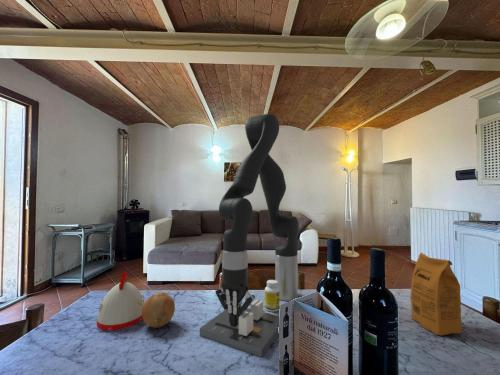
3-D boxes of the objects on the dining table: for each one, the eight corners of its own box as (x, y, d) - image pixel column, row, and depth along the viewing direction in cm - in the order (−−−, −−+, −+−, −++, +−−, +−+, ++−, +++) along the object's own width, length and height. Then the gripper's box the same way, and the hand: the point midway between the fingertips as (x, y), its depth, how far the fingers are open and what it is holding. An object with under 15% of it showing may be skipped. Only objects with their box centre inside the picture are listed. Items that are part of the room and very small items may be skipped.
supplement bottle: (278, 313, 82) (278, 284, 82) (263, 311, 83) (263, 283, 83) (280, 306, 87) (279, 279, 87) (265, 304, 88) (265, 278, 89)
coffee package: (433, 316, 80) (431, 251, 81) (469, 337, 67) (465, 260, 69) (405, 316, 80) (403, 251, 81) (435, 337, 67) (432, 260, 69)
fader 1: (245, 326, 68) (245, 311, 68) (253, 329, 67) (253, 313, 67) (238, 333, 64) (238, 316, 65) (246, 336, 63) (246, 319, 63)
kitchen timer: (146, 307, 85) (148, 266, 86) (141, 326, 72) (143, 277, 73) (103, 312, 81) (105, 269, 82) (90, 333, 68) (92, 281, 69)
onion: (169, 314, 80) (170, 285, 80) (178, 327, 72) (179, 294, 72) (138, 323, 74) (139, 291, 75) (145, 338, 66) (146, 302, 67)
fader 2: (256, 313, 76) (256, 299, 77) (263, 314, 75) (263, 300, 75) (250, 318, 73) (250, 303, 73) (257, 320, 72) (257, 305, 72)
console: (232, 310, 83) (232, 304, 83) (285, 324, 74) (285, 317, 74) (199, 335, 68) (199, 327, 68) (261, 357, 58) (261, 348, 58)
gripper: (260, 265, 69) (260, 325, 68) (223, 259, 75) (223, 314, 74) (248, 271, 62) (247, 338, 61) (209, 265, 68) (208, 325, 67)
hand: (234, 325), depth 68 cm, fingers closed
